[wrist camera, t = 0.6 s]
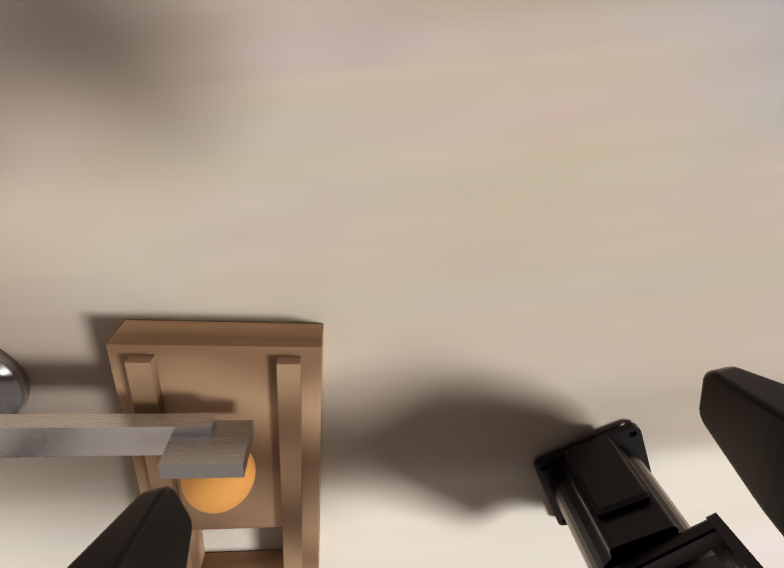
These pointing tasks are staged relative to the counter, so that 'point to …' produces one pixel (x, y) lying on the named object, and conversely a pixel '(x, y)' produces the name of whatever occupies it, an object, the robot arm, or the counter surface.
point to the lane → (236, 402)
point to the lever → (135, 440)
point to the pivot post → (12, 385)
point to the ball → (219, 490)
